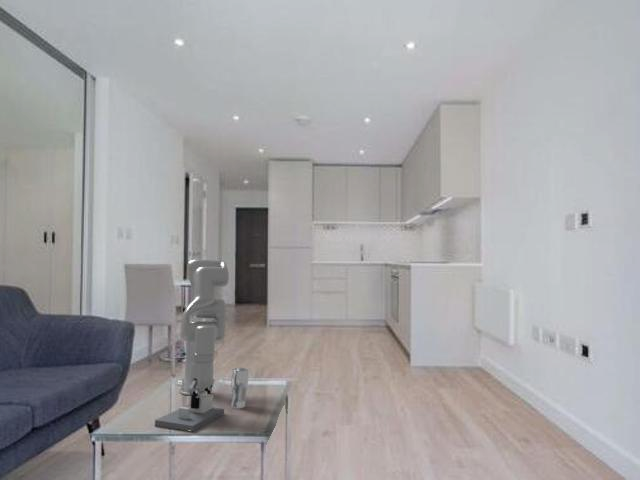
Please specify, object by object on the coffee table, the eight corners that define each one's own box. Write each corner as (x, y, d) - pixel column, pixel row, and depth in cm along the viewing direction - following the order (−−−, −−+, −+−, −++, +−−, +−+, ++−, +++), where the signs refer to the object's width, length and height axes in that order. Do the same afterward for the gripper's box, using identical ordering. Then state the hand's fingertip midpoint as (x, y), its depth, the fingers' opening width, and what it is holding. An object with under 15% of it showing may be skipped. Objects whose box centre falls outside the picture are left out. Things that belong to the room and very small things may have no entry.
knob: (203, 413, 167) (204, 394, 167) (187, 410, 169) (189, 392, 169) (212, 408, 173) (213, 390, 174) (197, 406, 175) (198, 388, 175)
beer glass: (239, 403, 188) (241, 367, 190) (250, 407, 184) (252, 369, 185) (226, 406, 183) (228, 369, 184) (237, 410, 179) (239, 371, 180)
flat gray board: (154, 425, 157) (155, 409, 157) (190, 409, 178) (191, 394, 178) (192, 431, 152) (193, 415, 153) (224, 414, 173) (224, 399, 174)
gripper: (206, 354, 182) (204, 398, 180) (182, 361, 165) (178, 410, 164) (223, 355, 180) (220, 401, 178) (200, 362, 163) (196, 413, 161)
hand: (200, 405), depth 171 cm, fingers open, 7 cm apart
